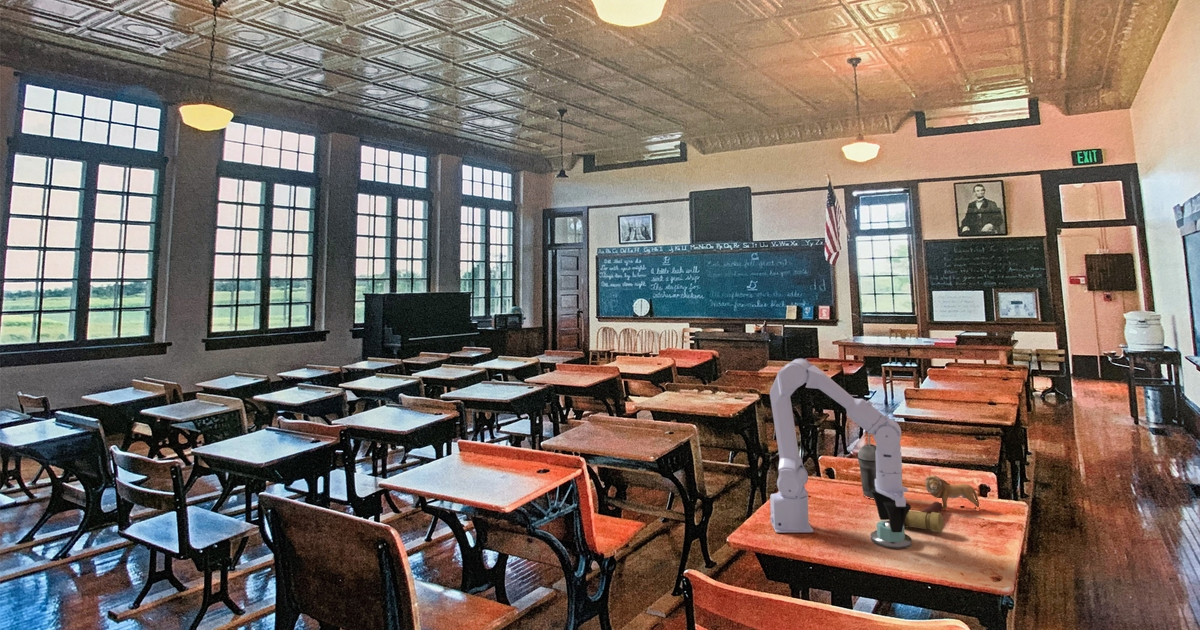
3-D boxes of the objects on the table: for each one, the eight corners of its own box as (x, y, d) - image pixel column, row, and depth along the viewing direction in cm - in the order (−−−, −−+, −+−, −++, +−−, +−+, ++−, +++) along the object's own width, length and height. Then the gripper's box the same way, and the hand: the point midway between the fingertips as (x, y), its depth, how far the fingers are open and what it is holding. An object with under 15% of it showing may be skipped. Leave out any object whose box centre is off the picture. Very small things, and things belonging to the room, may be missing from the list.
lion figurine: (931, 511, 162) (930, 477, 162) (921, 505, 167) (920, 473, 167) (987, 511, 161) (986, 477, 161) (976, 505, 166) (975, 473, 166)
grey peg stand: (878, 549, 142) (877, 530, 142) (865, 533, 151) (864, 516, 150) (918, 549, 141) (917, 530, 141) (902, 533, 150) (902, 515, 150)
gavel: (920, 493, 168) (960, 498, 161) (921, 509, 168) (961, 515, 161) (894, 509, 153) (937, 515, 146) (895, 527, 153) (939, 534, 146)
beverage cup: (889, 496, 176) (887, 428, 175) (880, 503, 171) (878, 433, 170) (863, 491, 181) (861, 425, 180) (854, 498, 176) (852, 430, 175)
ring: (882, 542, 143) (882, 529, 143) (874, 532, 149) (874, 520, 149) (907, 541, 143) (907, 529, 142) (898, 532, 148) (897, 520, 148)
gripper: (918, 479, 137) (920, 537, 138) (894, 461, 152) (896, 514, 152) (886, 479, 138) (888, 537, 139) (865, 461, 153) (867, 514, 153)
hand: (890, 525), depth 146 cm, fingers open, 7 cm apart
